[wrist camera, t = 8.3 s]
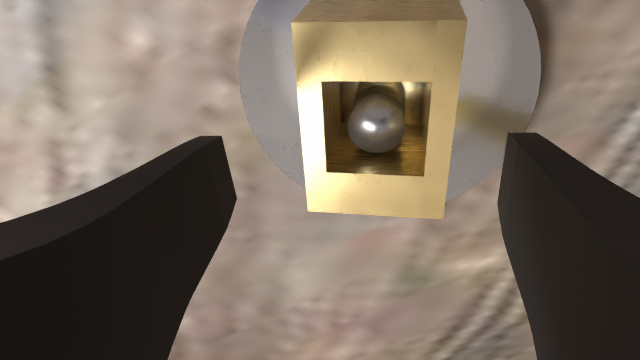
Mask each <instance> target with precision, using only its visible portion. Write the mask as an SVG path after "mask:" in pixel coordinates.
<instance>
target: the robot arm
mask: <svg viewBox="0 0 640 360" xmlns="http://www.w3.org/2000/svg"><path fill="white" fill-rule="evenodd" d="M236 200H237V197H236V193H235V189H234V185H233V181H232V177H231V173H230V169H229V165H228V160H227V156H226V152H225V148H224V144H223V140H222V136H200V137H197V138H194V139H192V140H189V141H187V142H185V143H183V144H181V145H179V146H177V147H175V148H173V149H171V150H170V151H168V152H166V153H164V154H162V155H160V156H158V157H157V158H155V159H153V160H151V161H149V162H147V163H145V164H144V165H142V166H140V167H138V168H136V169H134V170H132V171H130V172H128V173H126V174H124V175H122V176H120V177H118V178H116V179H114V180H112V181H110V182H108V183H106V184H104V185H102V186H100V187H98V188H95V189H93V190H91V191H89V192H86V193H84V194H82V195H79V196H77V197H74V198H72V199H69V200H67V201H64V202H62V203H59V204H57V205H54V206H51V207H48V208H45V209H42V210H39V211H36V212H33V213H30V214H27V215H24V216H21V217H18V218H15V219H12V220H9V221H6V222H2V223H0V360H167V359H168V356H169V353H170V351H171V348H172V345H173V342H174V339H175V337H176V334H177V332H178V329H179V326H180V324H181V321H182V319H183V316H184V313H185V311H186V308H187V306H188V304H189V302H190V300H191V297H192V295H193V293H194V291H195V289H196V287H197V286H198V284H199V282H200V280H201V278H202V276H203V274H204V272H205V270H206V268H207V266H208V265H209V263H210V261H211V259H212V257H213V255H214V253H215V251H216V249H217V247H218V245H219V243H220V241H221V239H222V237H223V235H224V233H225V231H226V229H227V227H228V224H229V221H230V218H231V216H232V213H233V209H234V206H235V203H236ZM498 210H499V217H500V223H501V229H502V235H503V239H504V243H505V246H506V249H507V253H508V256H509V259H510V262H511V265H512V269H513V272H514V275H515V278H516V281H517V284H518V287H519V290H520V294H521V297H522V300H523V303H524V306H525V309H526V312H527V316H528V319H529V323H530V327H531V331H532V335H533V340H534V345H535V350H536V355H537V360H640V198H639V197H637V196H635V195H633V194H631V193H630V192H628V191H626V190H624V189H623V188H621V187H619V186H618V185H616V184H614V183H612V182H611V181H609V180H607V179H606V178H604V177H603V176H601V175H599V174H598V173H596V172H595V171H593V170H591V169H590V168H588V167H587V166H585V165H584V164H582V163H581V162H579V161H578V160H576V159H575V158H573V157H572V156H571V155H569V154H568V153H566V152H565V151H563V150H562V149H560V148H559V147H558V146H556V145H555V144H553V143H552V142H550V141H549V140H547V139H546V138H544V137H543V136H541V135H539V134H537V133H508V134H507V141H506V148H505V155H504V162H503V169H502V176H501V183H500V189H499V196H498Z"/></svg>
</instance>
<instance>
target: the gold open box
mask: <svg viewBox="0 0 640 360" xmlns="http://www.w3.org/2000/svg"><path fill="white" fill-rule="evenodd" d="M291 27H292V38H293V49H294V60H295V72H296V83H297V94H298V105H299V116H300V128H301V139H302V150H303V161H304V173H305V184H306V195H307V206H308V211H313V212H330V213H346V214H363V215H380V216H397V217H414V218H431V219H443V215H444V207H445V199H446V191H447V183H448V174H449V166H450V158H451V150H452V142H453V134H454V125H455V117H456V109H457V101H458V93H459V85H460V76H461V68H462V60H463V52H464V44H465V36H466V27H467V18H466V15H465V13H464V11H463V8H462V6H461V3H460V1H459V0H310V1H309V2H308V3H307V5H306V6H305V7H304V8H303V9H302V10H301V12H300V13H299V14H298V15H297V16H296V18H295V19H294V20H293V21H292V22H291ZM339 81H359V82H425V88H424V101H423V114H422V125H421V124H405V132H404V136H403V138H402V140H401V141H400V143H399V144H398V145H397V146H396V147H394V148H393V149H391V150H389V151H386V152H382V153H371V152H367V151H365V150H362V149H361V148H359V147H358V146H356V145H355V144H354V142H353V141H352V140H351V138H350V136H349V133H348V123H341V112H340V82H339Z"/></svg>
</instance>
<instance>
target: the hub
mask: <svg viewBox="0 0 640 360" xmlns="http://www.w3.org/2000/svg"><path fill="white" fill-rule="evenodd" d="M309 1H310V0H259V1H258V2H257V4H256V5H255V7H254V10H253V12H252V14H251V16H250V19H249V21H248V23H247V26H246V29H245V33H244V36H243V40H242V44H241V51H240V58H239V84H240V92H241V98H242V102H243V106H244V110H245V114H246V116H247V119H248V121H249V124H250V126H251V129H252V131H253V132H254V134H255V136H256V138H257V140H258V142H259V143H260V145H261V146H262V148H263V149H264V150H265V152H266V153H267V155H268V156H269V157H270V158H271V159H272V161H273V162H274V163H275V164H276V165H277V166H278V167H279V168H280V169H281V170H282V171H283V172H284V173H285V174H286V175H287V176H289V177H290V178H291V179H292V180H294V181H295V182H296V183H298V184H299V185H301V186H302V187H303V188H305V189H306V184H305V173H304V161H303V150H302V139H301V128H300V116H299V105H298V94H297V83H296V72H295V60H294V49H293V38H292V27H291V22H292V21H293V20H294V19H295V18H296V16H297V15H298V14H299V13H300V12H301V10H302V9H303V8H304V7H305V6H306V5H307V3H308V2H309ZM459 1H460V3H461V6H462V8H463V11H464V13H465V15H466V18H467V27H466V36H465V44H464V52H463V60H462V68H461V76H460V85H459V93H458V101H457V109H456V117H455V125H454V134H453V142H452V150H451V158H450V166H449V174H448V183H447V191H446V199H445V201H447V200H449V199H452V198H454V197H456V196H458V195H460V194H462V193H464V192H466V191H467V190H469V189H471V188H472V187H474V186H476V185H477V184H479V183H480V182H481V181H482V180H484V179H485V178H486V177H488V176H489V175H490V174H491V173H493V172H494V171H495V170H496V169H497V168H498V167H499V166H500V165H501V164H502V163H503V162H504V155H505V148H506V141H507V134H508V133H524V132H525V130H526V128H527V126H528V124H529V121H530V119H531V117H532V114H533V112H534V108H535V105H536V101H537V97H538V94H539V86H540V78H541V53H540V47H539V42H538V36H537V32H536V29H535V26H534V23H533V20H532V17H531V14H530V12H529V10H528V8H527V6H526V4H525V2H524V1H523V0H459ZM339 82H340V112H341V123H348V133H349V136H350V138H351V140H352V141H353V142H354V144H355V145H356V146H358V147H359V148H361V149H362V150H365V151H367V152H371V153H382V152H386V151H389V150H391V149H393V148H394V147H396V146H397V145H398V144H399V143H400V141H401V140H402V138H403V136H404V132H405V124H421V125H422V114H423V101H424V88H425V82H359V81H339Z"/></svg>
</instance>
